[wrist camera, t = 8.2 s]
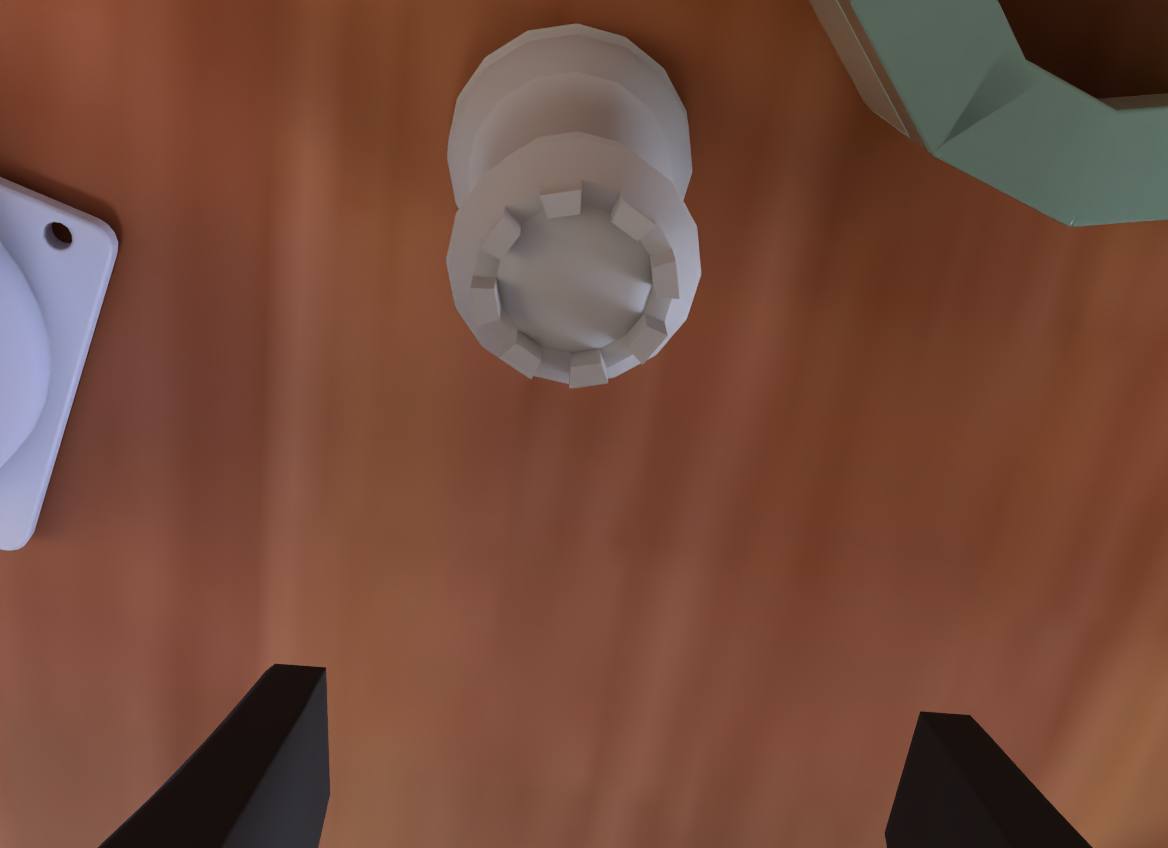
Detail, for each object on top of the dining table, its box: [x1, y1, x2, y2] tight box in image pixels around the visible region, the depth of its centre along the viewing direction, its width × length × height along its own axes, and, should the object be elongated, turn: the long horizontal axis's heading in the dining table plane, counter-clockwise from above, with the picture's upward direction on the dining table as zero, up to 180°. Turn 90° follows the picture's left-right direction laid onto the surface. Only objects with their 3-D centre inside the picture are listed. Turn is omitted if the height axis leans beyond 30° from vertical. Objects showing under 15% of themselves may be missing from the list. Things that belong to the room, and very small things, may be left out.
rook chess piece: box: [446, 23, 701, 388], centre depth 16 cm, size 4×4×8 cm
